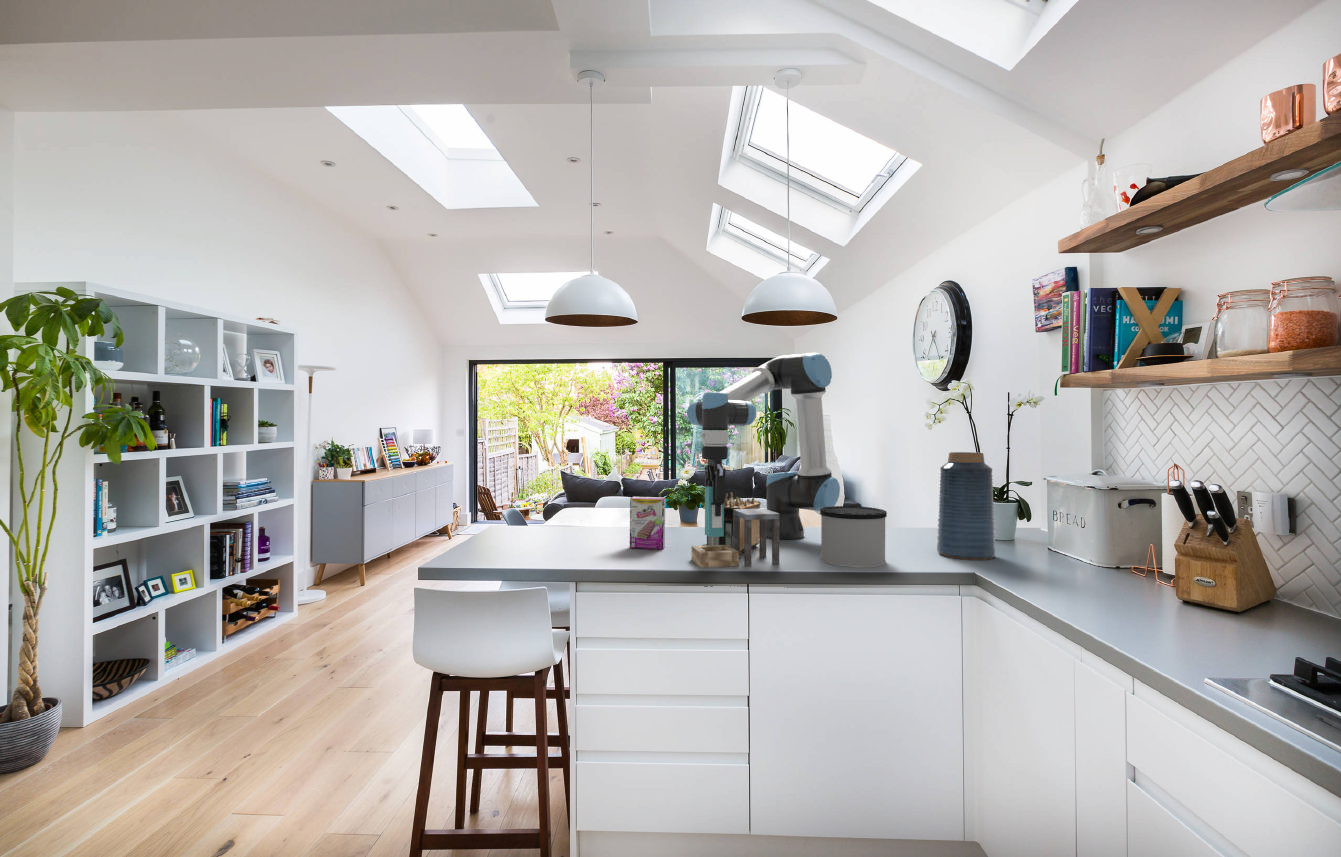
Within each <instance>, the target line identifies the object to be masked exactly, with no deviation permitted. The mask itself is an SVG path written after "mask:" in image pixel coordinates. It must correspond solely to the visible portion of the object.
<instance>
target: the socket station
mask: <svg viewBox="0 0 1341 857" xmlns="http://www.w3.org/2000/svg"><path fill="white" fill-rule="evenodd" d="M740 518H743V519H744V553H743V556H744V557H743V562H744V563H743V564H744V566H746V567H749V566H750V567H751V566H752V551H751V543H752V520H759V544H758V549H759V551H758V552H759V553H758V554H759V555H758V556H759V557H760V558H767V537H766V519H772V538H771V564H772V565H776V566H777V565H780V539H779V513H776V512H773V511H770V510H767V508H760V509H733V548H732V547H730V546H728V545H707V546H706V545H704V546H703V545H692V546H691V561H693V562H694V563H695V564H696V565H698V567H700V568H718V567H719V568H722V567H739V564H740V563H739V561H740V558H741V555H740Z"/></svg>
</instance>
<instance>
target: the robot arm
mask: <svg viewBox="0 0 1341 857" xmlns="http://www.w3.org/2000/svg"><path fill="white" fill-rule="evenodd" d="M832 377H833V372H832V367H831V364H830V362H829V361H828V359H827V357H826V356H825V355H823V354H822V353H819V352H806V353H799V354H789V355H788V354H787V355H780V356H778V357H775V358H772V359H771V360H768V361H767V362H765V363H762V364H760V365H759V366H757V367H756V368H754V369H753V370H752V372H751V374H748V375H747V376H746V377H744V378H742V379H741V380H739V381H737V382H735V383H734V384H731V385H729V386H728V387H726V388H724V389H723V390H721V391H709V392H705V393H704V394H702V400H701V401H695V402H691V403H690V404H689V406H688V407H687V410H686V412H687V413H686V415H687V419H688V422H689V423H690V424H692V425H694V426H700V427H701V430H702V431H701V433H700V435H699V436H700V438H702V439H701V443H702V445H703V446H702V447H701V458H702V459H703V460H707V465H706V466H704V468H703V469H704V487H705V486H712V488H713V503H711V505H712V528H722V504H723V503H725V496H726V492H725V491H726V490H725V487H726V468H724V465H723V462H722V460H728V458H729V447H728V446H727V445H729V426H740V427H743V426H744V427H745V426H749V425H751V424H753V423H754V421H755V420H756V417H757V409H756V406H755V405H754V403H752V402H750V401H752V400H753V399H755V398H757V397H758V396H760V395H762V394H769V393H771V392H772V391H775V390H785V389H789V390H790V395H791V396H792V397H793V398H795V403H796V417H797V430H798V443H799V455H800V456H799V457H800V468H799V469H798V471H797V470H796V471H786V472H775V473H773V472H772V473H769V474H768V475H767V477H766V484H765V487H766V490H765V491H766V509H767V510H770V511H773V512H776V513H779V540H794V539H795V540H796V539H802V538H804V537H805V529H804V526H803V523H802V520H801V516H800V509H801V510H808V511H816V512H820V509H821V508H825V507H832V506H837V505H836V504H838V501H839V497H840V494H841V493H840V492H841V488H840V487H841V486H840V482H839V480H838V479H837V478H835V477H834V476H833V474H832V469H831V468H829V467H828V466H827V454H826V441H825V439H826V438H825V428H824V427H825V426H824V425H825V424H824V415H823V414H824V412H823V399H822V398H823V395H825V394H826V392H827V391H826V388H827V387H828V386H829V385H830V384H831V382H832ZM766 538H768V539H769V538H770V539H772V519H766Z"/></svg>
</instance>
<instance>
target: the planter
mask: <svg viewBox="0 0 1341 857" xmlns="http://www.w3.org/2000/svg"><path fill="white" fill-rule="evenodd" d="M733 496H734V495H733V492H730V497H729V498H728V493H727V492H725V503H724V536H721V537H708V536H707V535H706V543H705V544H702V546H707V545H728V546H730V547H732V548H733V509H761V504H762V503H761V501H760V500H755V497H752V498H751V499H750V498H749V497H747V499H746V500H743V499H742V498H741V497H739V496H736V497H735V499H734V497H733ZM757 545H759V520H752V543H751V552H752V551H753V550H754V549H759V546H757ZM741 555H744V519H743V518H740V556H741Z"/></svg>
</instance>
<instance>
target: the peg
mask: <svg viewBox="0 0 1341 857" xmlns="http://www.w3.org/2000/svg"><path fill="white" fill-rule="evenodd" d="M711 503H713V488H712V486H705V485H704V535H705V536H706V537H707V536H708V537H721V536H724V503H723V504H722V528H712V505H711Z"/></svg>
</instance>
